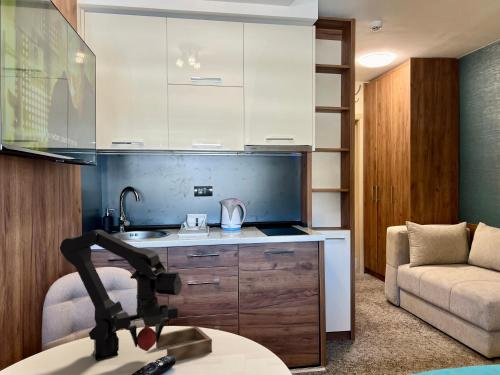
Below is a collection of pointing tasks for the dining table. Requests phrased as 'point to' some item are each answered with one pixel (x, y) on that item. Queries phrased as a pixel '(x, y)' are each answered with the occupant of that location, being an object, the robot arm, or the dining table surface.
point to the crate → (186, 350)
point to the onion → (146, 338)
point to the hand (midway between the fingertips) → (146, 344)
